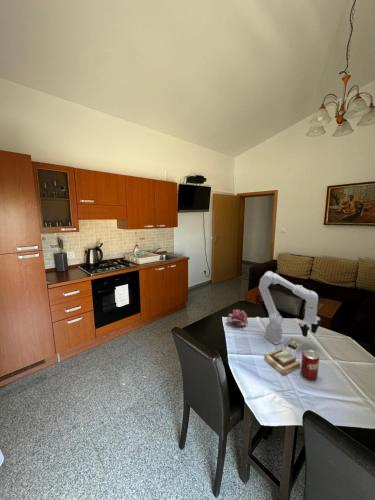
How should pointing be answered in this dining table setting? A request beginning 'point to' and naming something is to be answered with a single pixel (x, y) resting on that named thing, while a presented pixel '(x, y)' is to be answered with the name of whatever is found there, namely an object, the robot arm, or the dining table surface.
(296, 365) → the bay
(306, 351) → the soda can
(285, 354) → the open box
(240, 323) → the flower
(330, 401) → the dining table surface
